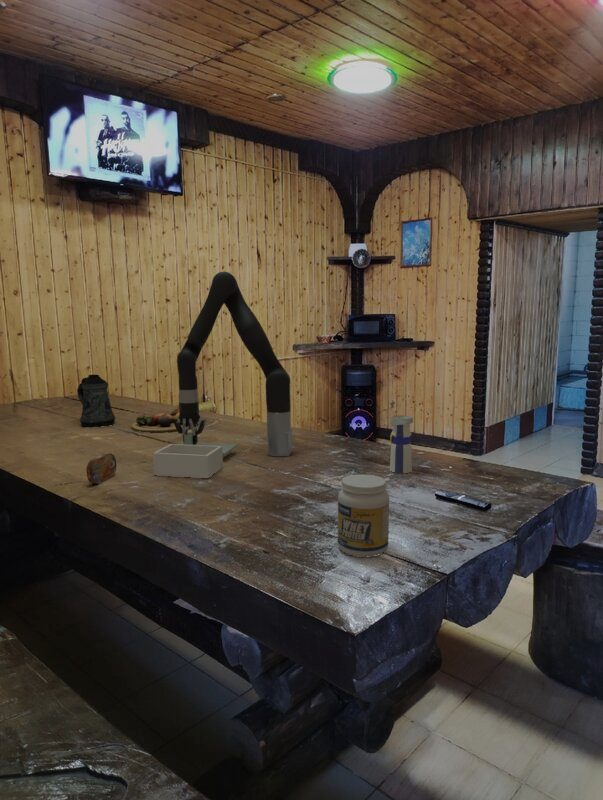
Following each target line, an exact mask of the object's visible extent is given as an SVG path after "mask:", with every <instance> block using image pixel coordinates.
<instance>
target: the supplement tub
mask: <svg viewBox="0 0 603 800" xmlns="http://www.w3.org/2000/svg"><path fill="white" fill-rule="evenodd" d="M340 488H341V489H340V490H339V492H338V495H337V541H336V542H337V546H338V548H339V549H340V551H341V550H342V553H344V552H345V553H344V554H346V553H347V554H346V555H348V554H349V555H348V556H350V555H353V556H352V557H354V556H359V557H358V558H362V557H367V556H374V555H378V554H381V553H383V552H384V553H385V552H386V551H387V550H388V548H389V532H390V531H389V529H390V525H389V523H390V496H389V493H388V491H387V481H386V479H385V478H384V477H380V476H377V475H373V474H364V473H363V474H352V475H347V476H344V477H343V478H342V479H341V485H340ZM384 553H383V554H384ZM381 555H382V554H381ZM378 556H379V555H378Z"/></svg>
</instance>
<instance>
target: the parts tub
mask: <svg viewBox="0 0 603 800" xmlns="http://www.w3.org/2000/svg"><path fill="white" fill-rule="evenodd" d="M152 458H153V459H152V461H153V476H154V475H157V477H168V476H171V477H173V478H184V477H191V478H190V479H201V478H209V477H210V478H211V477H213V476H214V475H215V474H216V472H217V471H218V472H219V471H221V470H222V469H223V468H224V463H223V460H224V459H223V456H222V446H207V445H185V444H184V443H183V444H181V443H179V444H178V443H169V444H167V445H166V446H164V447H162V448H159V449H158V450H156V451H154V452H153V453H152ZM221 468H222V469H221ZM220 469H221V470H220ZM218 472H217V473H218ZM214 473H215V474H214ZM213 474H214V475H213ZM212 475H213V476H212ZM171 477H170V478H171ZM210 478H209V479H210Z"/></svg>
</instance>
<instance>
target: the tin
mask: <svg viewBox="0 0 603 800" xmlns="http://www.w3.org/2000/svg"><path fill="white" fill-rule="evenodd" d="M85 471H86V477H87V481H88V482H89V483H91V484H96V485H100V484H103V483H105V482H106V481H107V479H108V480H109V479H111V478H113V477H114V475H115V473H116V472H117V459H116V456H115V455H114V454H112V452H110V453H109V452H108V453H102V454H100V455H98V456H96V457H94V458H92V459H91V460H89V461H88V462H87V465H86V470H85Z"/></svg>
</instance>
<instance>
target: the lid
mask: <svg viewBox="0 0 603 800" xmlns="http://www.w3.org/2000/svg"><path fill="white" fill-rule="evenodd" d="M183 444H185V445H193V434H192V432H188V433H187V434H186V435H184V442H183ZM195 445H207V446H222V456H223V458H225V457H226V456H228V455H229V454H230V453H232V452H233V450H235V449H237V448H238V444H236V443H235V444H234V443H218V442H217V443H216V442H199V441H198V442H197V443H196V444H195Z"/></svg>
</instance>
